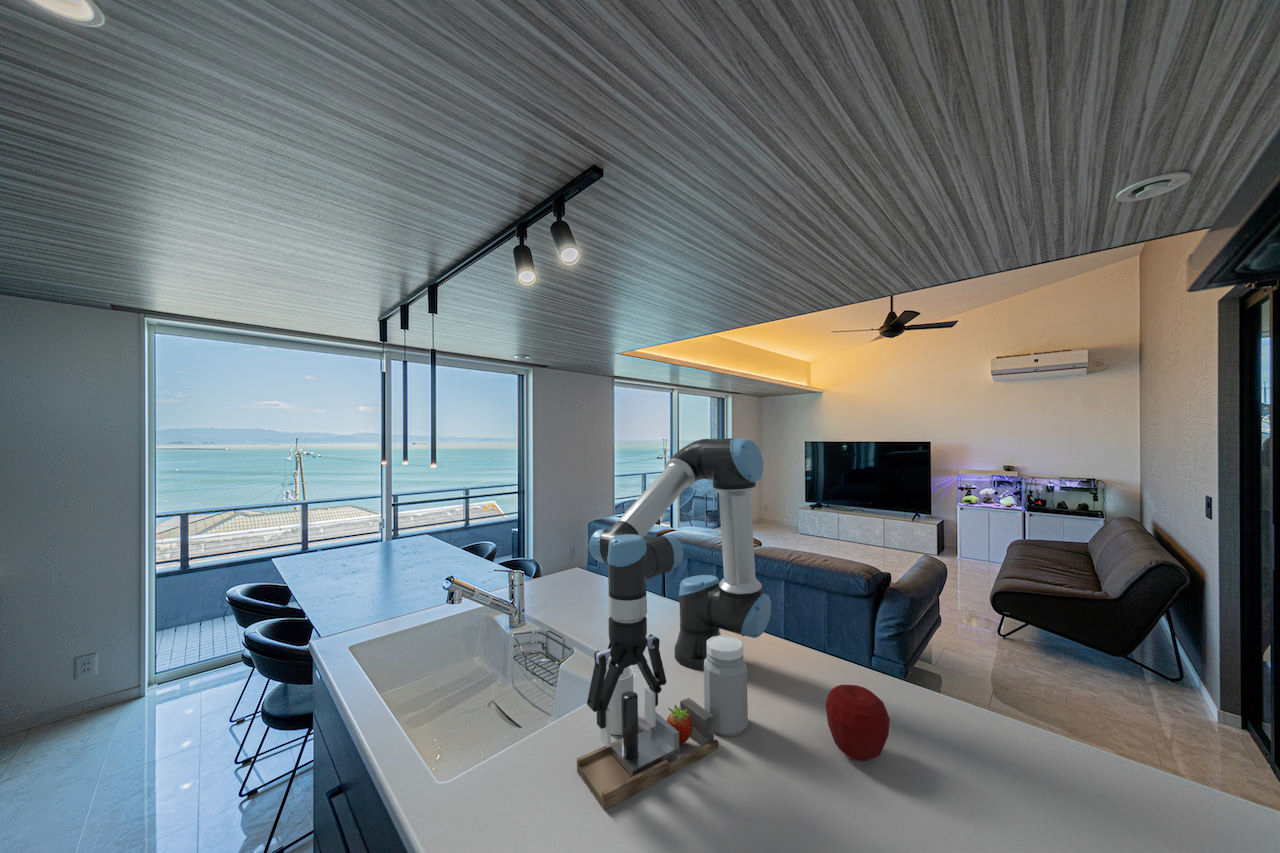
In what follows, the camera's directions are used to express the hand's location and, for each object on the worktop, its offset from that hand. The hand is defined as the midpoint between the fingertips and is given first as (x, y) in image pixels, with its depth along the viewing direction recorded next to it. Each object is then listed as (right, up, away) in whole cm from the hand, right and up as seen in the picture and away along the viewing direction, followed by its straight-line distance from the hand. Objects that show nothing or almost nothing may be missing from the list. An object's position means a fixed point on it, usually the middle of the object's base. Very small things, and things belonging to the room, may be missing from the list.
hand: (628, 732), depth 85 cm
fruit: (+10, -7, +7) cm, 14 cm away
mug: (-2, -8, +15) cm, 17 cm away
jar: (+22, -8, +13) cm, 27 cm away
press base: (+5, -7, +3) cm, 9 cm away
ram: (+3, -5, +2) cm, 7 cm away
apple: (+46, -7, +3) cm, 47 cm away
